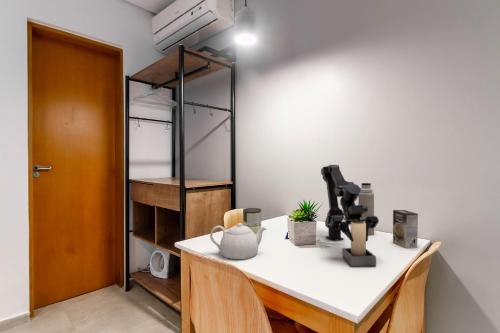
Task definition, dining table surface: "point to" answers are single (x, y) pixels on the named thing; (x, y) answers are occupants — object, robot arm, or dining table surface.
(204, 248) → the dining table surface
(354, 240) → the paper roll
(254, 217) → the coffee can
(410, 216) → the coffee box
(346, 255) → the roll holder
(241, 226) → the teapot
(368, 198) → the thermos bottle
